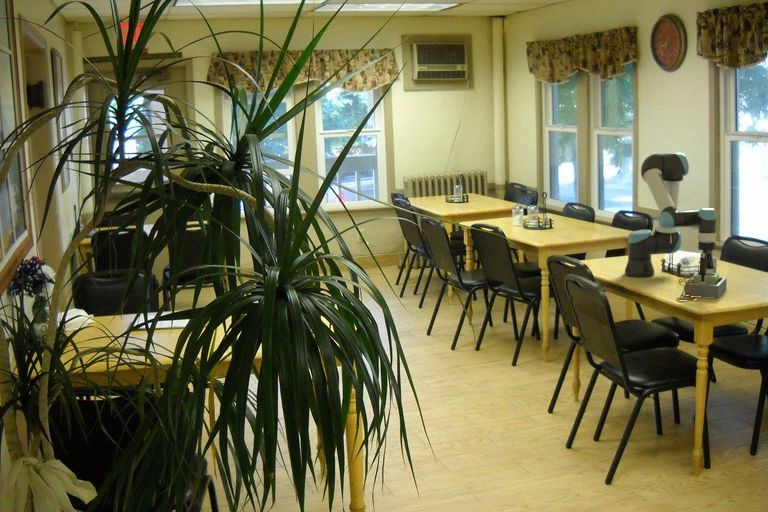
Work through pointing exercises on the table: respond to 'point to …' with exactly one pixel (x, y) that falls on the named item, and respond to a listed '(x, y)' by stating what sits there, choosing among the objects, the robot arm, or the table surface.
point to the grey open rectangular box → (707, 288)
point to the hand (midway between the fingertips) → (705, 285)
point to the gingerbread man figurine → (687, 289)
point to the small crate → (707, 278)
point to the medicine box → (713, 264)
